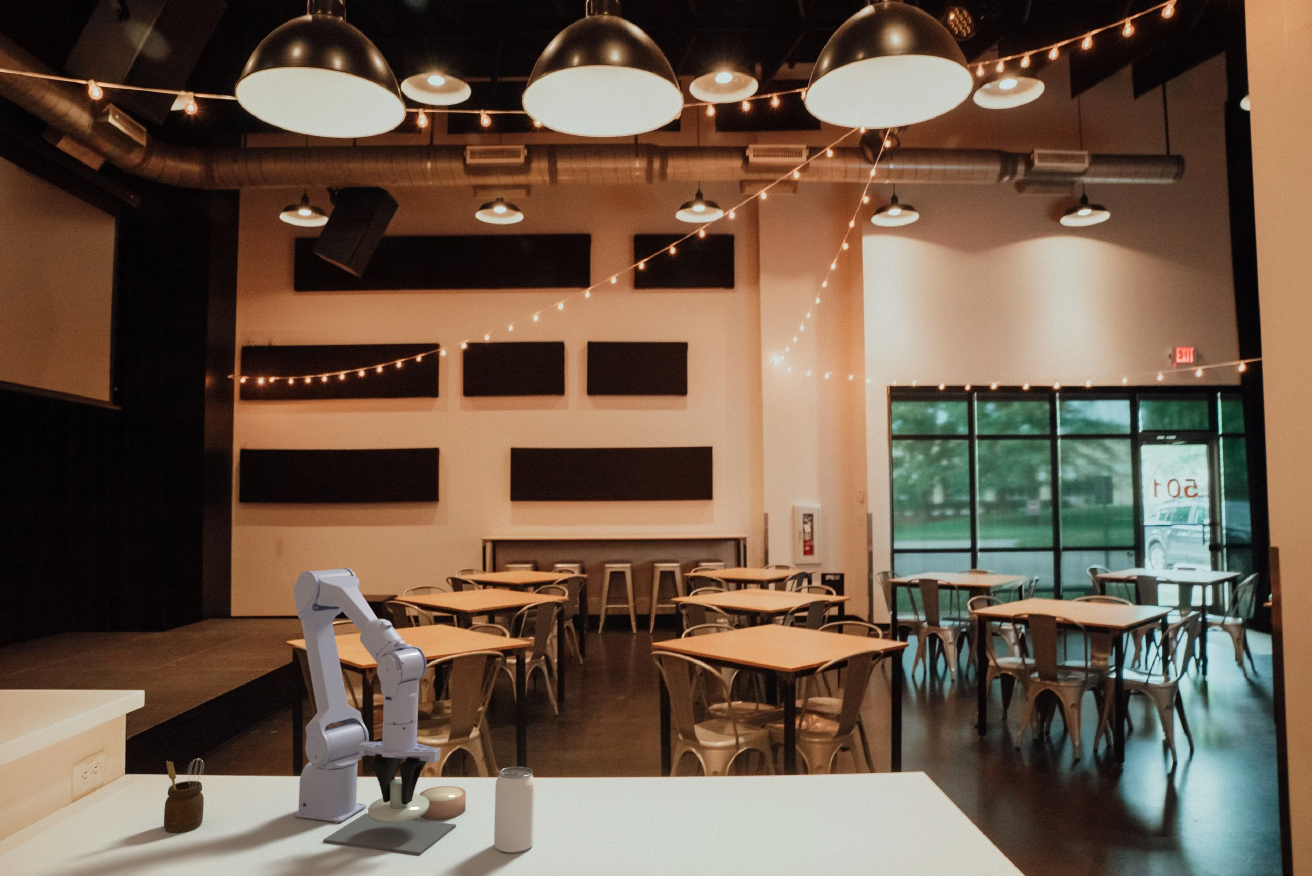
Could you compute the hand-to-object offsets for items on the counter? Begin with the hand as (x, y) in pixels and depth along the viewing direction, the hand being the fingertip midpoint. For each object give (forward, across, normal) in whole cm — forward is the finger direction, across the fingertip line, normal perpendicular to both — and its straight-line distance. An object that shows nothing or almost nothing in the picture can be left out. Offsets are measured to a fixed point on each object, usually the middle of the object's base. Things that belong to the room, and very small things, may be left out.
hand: (397, 801), depth 143 cm
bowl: (+6, +2, +12) cm, 13 cm away
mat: (+6, -1, 0) cm, 6 cm away
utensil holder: (+6, -37, -8) cm, 38 cm away
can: (+6, +21, +2) cm, 22 cm away
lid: (+2, 0, 0) cm, 2 cm away
